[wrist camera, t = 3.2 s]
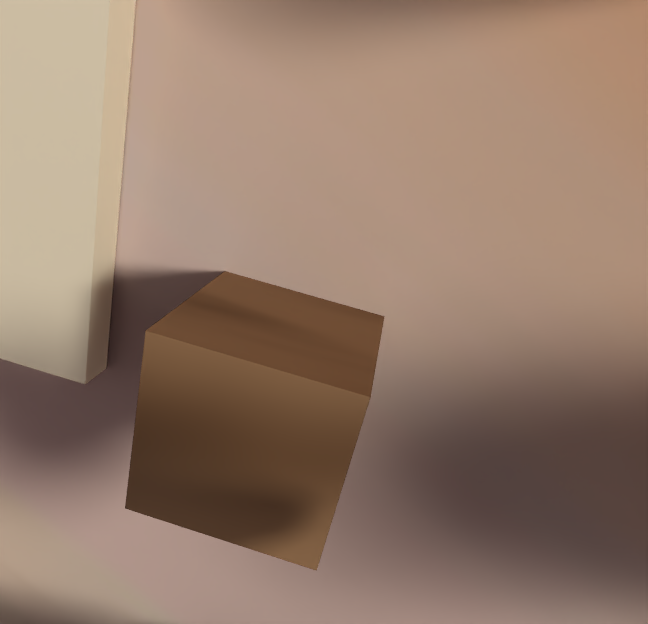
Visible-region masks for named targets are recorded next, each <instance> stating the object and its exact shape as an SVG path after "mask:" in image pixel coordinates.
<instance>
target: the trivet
mask: <svg viewBox="0 0 648 624" xmlns="http://www.w3.org/2000/svg"><path fill="white" fill-rule="evenodd" d="M135 6H136V0H0V359H3V360H7V361H10V362H13V363H16V364H20V365H23V366H26V367H30V368H33V369H36V370H39V371H43V372H46V373H49V374H53V375H56V376H59V377H62V378H66V379H69V380H72V381H76V382H79V383H82V384H87V383H88V382H89V381H90V380H92V379H93V378H94V377H96V376H97V375H98V374H99V373H101V372H102V371H103V370H105V369H106V367H107V355H108V342H109V330H110V318H111V305H112V293H113V280H114V268H115V255H116V243H117V230H118V218H119V205H120V193H121V181H122V168H123V156H124V143H125V131H126V118H127V106H128V93H129V81H130V68H131V56H132V44H133V31H134V19H135Z"/></svg>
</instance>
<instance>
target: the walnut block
mask: <svg viewBox="0 0 648 624" xmlns="http://www.w3.org/2000/svg"><path fill="white" fill-rule="evenodd" d="M383 321H384V316H381V315H377V314H374V313H370V312H367V311H363V310H360V309H356V308H353V307H349V306H346V305H342V304H338V303H335V302H331V301H328V300H324V299H321V298H317V297H314V296H310V295H307V294H303V293H300V292H296V291H293V290H289V289H286V288H282V287H279V286H275V285H272V284H268V283H265V282H261V281H258V280H254V279H251V278H247V277H244V276H240V275H237V274H233V273H229V272H226V271H225V272H223V273H222V274H221V275H219V276H218V277H217V278H215V279H214V280H213V281H211V282H210V283H209V284H207V285H206V286H205V287H203V288H202V289H201V290H199V291H198V292H197V293H195V294H194V295H193V296H191V297H190V298H189V299H187V300H186V301H185V302H183V303H182V304H181V305H179V306H178V307H177V308H175V309H174V310H173V311H171V312H170V313H169V314H167V315H166V316H165V317H163V318H162V319H161V320H159V321H158V322H157V323H155V324H154V325H153V326H151V327H150V328H149V329H147V330H146V332H145V341H144V349H143V358H142V367H141V375H140V384H139V393H138V401H137V410H136V419H135V427H134V436H133V445H132V453H131V462H130V471H129V479H128V488H127V496H126V505H125V508H126V509H129V510H132V511H135V512H138V513H141V514H144V515H147V516H150V517H153V518H156V519H160V520H163V521H166V522H169V523H172V524H175V525H178V526H181V527H184V528H187V529H190V530H193V531H196V532H200V533H203V534H206V535H209V536H212V537H215V538H218V539H221V540H224V541H227V542H230V543H233V544H236V545H240V546H243V547H246V548H249V549H252V550H255V551H258V552H261V553H264V554H267V555H270V556H273V557H277V558H280V559H283V560H286V561H289V562H292V563H295V564H298V565H301V566H304V567H307V568H310V569H313V570H317V567H318V564H319V561H320V558H321V554H322V551H323V548H324V545H325V542H326V538H327V535H328V532H329V529H330V525H331V522H332V519H333V516H334V513H335V509H336V506H337V503H338V500H339V497H340V493H341V490H342V487H343V484H344V480H345V477H346V474H347V471H348V468H349V464H350V461H351V458H352V455H353V452H354V448H355V445H356V442H357V439H358V435H359V432H360V429H361V426H362V423H363V419H364V416H365V413H366V410H367V407H368V403H369V400H370V397H371V391H372V385H373V379H374V373H375V368H376V362H377V356H378V350H379V344H380V339H381V333H382V327H383Z"/></svg>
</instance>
